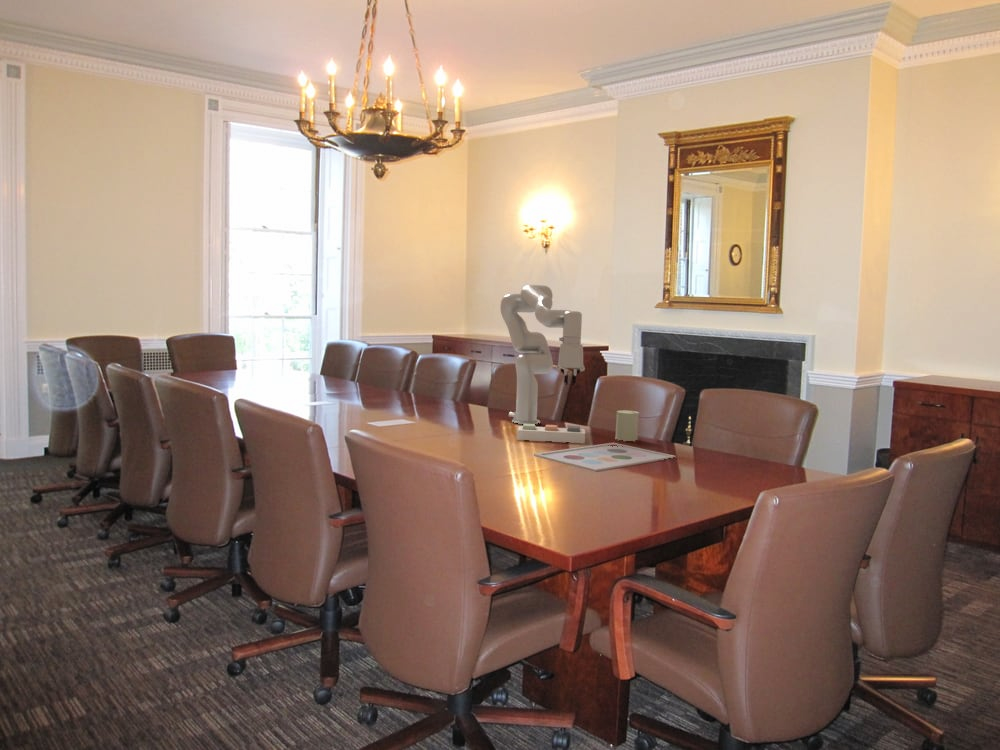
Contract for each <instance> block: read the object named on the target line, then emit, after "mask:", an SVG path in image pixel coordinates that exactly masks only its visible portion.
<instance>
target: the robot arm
mask: <svg viewBox="0 0 1000 750" xmlns="http://www.w3.org/2000/svg"><path fill="white" fill-rule="evenodd" d="M553 297H554V295H553V292H552V289H551V288H550V287H549V286H547V285H541V284H540V285H539V284H537V285H536V284H530V285H524V287H522V288H521V291H520V293H508V294H506V295H504V296H503V297H502V299H501V300H500V314H501V316H502V319H503V321H504V323H505V325H506V328H507V330H508V331H507V332H508V334H509V337H510V340H511V344H512V346H513V349H514V351H515V352H516V353H520V354H519V355H518V356H517V357H516V358H515V364H514V365H515V371H516V399H515V402H516V403H515V411H514V412H512V411H510V412H509V413H508V417H511V418H512V417H513V418H512V420H511V422H512V423H513V422H514V423H513V424H515V423H518V424H517V425H522V424H536V425H539V424H540V423H541V421H540V419H537V417H538V397H539V396H538V395H539V391H538V390H539V383H538V380H537V378H536V376H535V375H546V374H549V373H551V372H552V370H553V367H554V362H553V357H552V353H551V350H550V347H549V344H548V341H547V338H546V336H545V335H544V334H543V333H541V332H539V331H530V330H529V329H528V326H527V322H526V321H525V320H524V319H523V317H522V316H521V315H519V313H534V316H535V318H536V320H537V321H538V322H539V323H540V324H542V325H543V327H546V328H552V329H553V328H561V329H562V336H561V337H559V339H558V341H559V342H561V344H560V346H559V352H558V362H557V365H556V367H555V370H557V371H560V372H561V373H562V374H563V375H564V381H563V382H564V384H565V386H568V384H569V383H568V382H569V375H568V369H573V373H572V376H571V386H574V385H575V384H576V379H577V376H578V374H579V373H581V372H584V371H585V370H586V368H585V365H584V347H583V344H582V343H581V342H582V322H583V314H582V312H580V311H577V310H576V311H575V310H567V309H552V307H553V300H552V299H553ZM538 423H539V424H538Z"/></svg>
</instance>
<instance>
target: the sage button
mask: <svg viewBox="0 0 1000 750" xmlns="http://www.w3.org/2000/svg"><path fill="white" fill-rule="evenodd" d="M522 426H523V429H526V430H535V427H536V425H535V424H523V425H522Z"/></svg>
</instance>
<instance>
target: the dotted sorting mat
mask: <svg viewBox="0 0 1000 750" xmlns="http://www.w3.org/2000/svg"><path fill="white" fill-rule="evenodd" d="M608 445H609V446H608ZM610 445H617V446H618V447H617V446H613V447H612V446H610ZM622 446H623V447H622ZM533 457H538V458H541V459H545V460H548V461H553V462H557V463H561V464H565V465H567V466H568V465H569V466H573V467H576V468H580V469H584V470H587V471H588V470H589V471H591V472H601V471H605V470H611V469H618V468H624V467H629V466H635V465H636V466H637V465H641V464H648V463H654V462H658V461H659V460H660V461H664V459H666V460H669V459H668V458H671V459H674V458H673V457H675V458H676V455H673V454H667V453H665V452H659V451H655V450H651V449H650V450H649V449H644V448H641V447H636V446H631V445H627V444H621V443H617V442H608V443H602V444H601V443H600V444H594V445H587V446H581V447H580V446H579V447H573V448H565V449H558V450H552V451H545V452H538V453H533Z"/></svg>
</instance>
